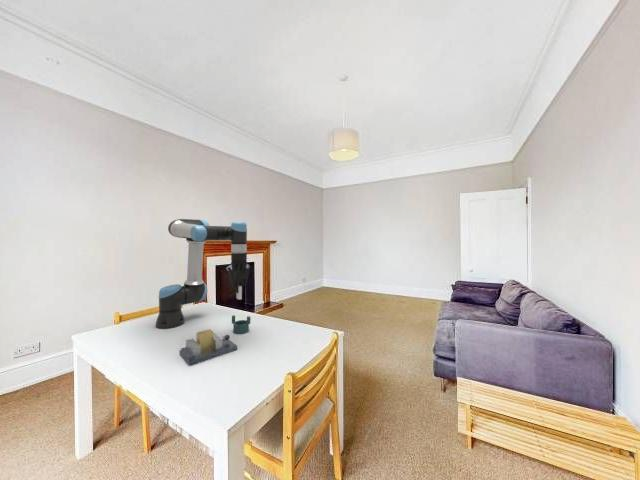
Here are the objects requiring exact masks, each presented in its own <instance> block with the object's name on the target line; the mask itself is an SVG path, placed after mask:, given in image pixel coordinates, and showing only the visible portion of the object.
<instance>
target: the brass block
mask: <svg viewBox="0 0 640 480" xmlns="http://www.w3.org/2000/svg"><path fill="white" fill-rule="evenodd" d="M213 333H214V331H213V330H212V329H211V328H209V329H205V330H201V331H197V332H196V342H197V343H198V344H199V345H200V346H201V352H204V351H207V350H210V349H213Z"/></svg>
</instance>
